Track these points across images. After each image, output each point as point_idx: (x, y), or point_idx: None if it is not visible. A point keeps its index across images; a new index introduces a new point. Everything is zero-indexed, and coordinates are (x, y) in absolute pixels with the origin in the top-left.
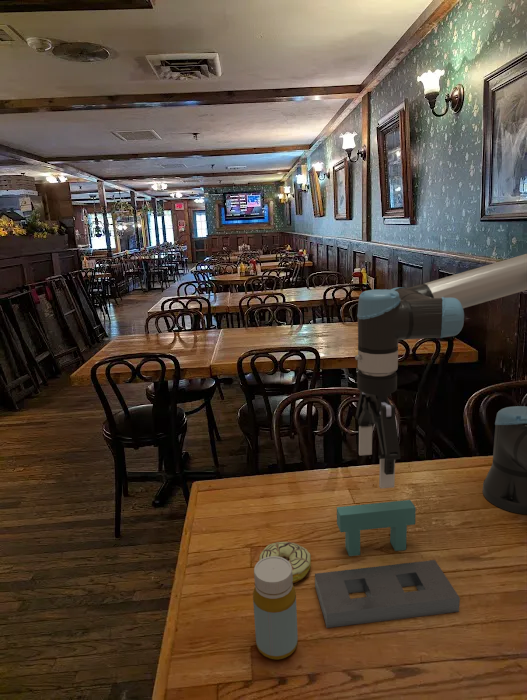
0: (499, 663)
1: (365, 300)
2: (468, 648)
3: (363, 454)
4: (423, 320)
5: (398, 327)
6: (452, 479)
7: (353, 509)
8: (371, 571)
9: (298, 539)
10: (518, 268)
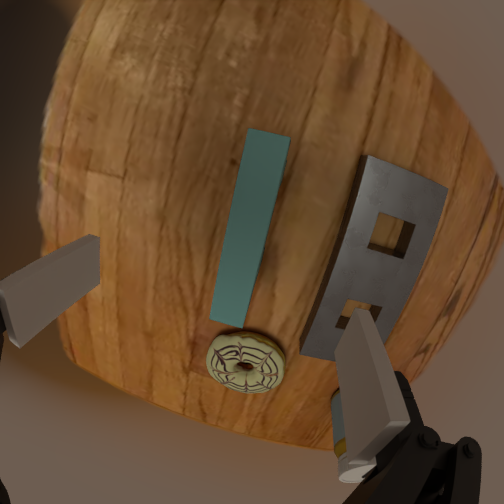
0: (494, 205)
1: None
2: (472, 221)
3: (97, 271)
4: None
5: None
6: None
7: (231, 292)
8: (340, 281)
9: (190, 315)
10: None
